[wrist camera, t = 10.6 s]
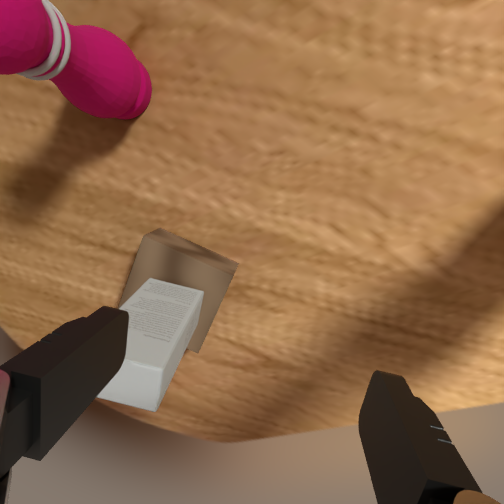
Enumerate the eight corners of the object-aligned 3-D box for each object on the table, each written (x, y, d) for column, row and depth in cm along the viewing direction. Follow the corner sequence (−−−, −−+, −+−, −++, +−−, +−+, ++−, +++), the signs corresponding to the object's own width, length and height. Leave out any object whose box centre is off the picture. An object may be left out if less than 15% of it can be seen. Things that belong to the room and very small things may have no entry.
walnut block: (239, 262, 37) (233, 276, 32) (208, 331, 39) (198, 353, 34) (161, 227, 37) (143, 235, 32) (135, 298, 39) (114, 316, 34)
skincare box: (145, 311, 34) (75, 393, 23) (149, 276, 32) (76, 345, 21) (199, 325, 34) (156, 415, 22) (206, 290, 32) (163, 368, 21)
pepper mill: (82, 56, 32) (-211, -119, 13) (148, 42, 31) (-59, -166, 12) (100, 129, 34) (-136, 72, 15) (163, 118, 33) (2, 42, 14)
